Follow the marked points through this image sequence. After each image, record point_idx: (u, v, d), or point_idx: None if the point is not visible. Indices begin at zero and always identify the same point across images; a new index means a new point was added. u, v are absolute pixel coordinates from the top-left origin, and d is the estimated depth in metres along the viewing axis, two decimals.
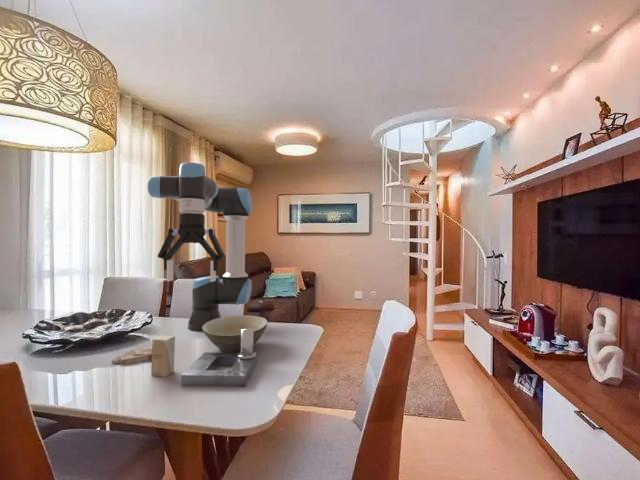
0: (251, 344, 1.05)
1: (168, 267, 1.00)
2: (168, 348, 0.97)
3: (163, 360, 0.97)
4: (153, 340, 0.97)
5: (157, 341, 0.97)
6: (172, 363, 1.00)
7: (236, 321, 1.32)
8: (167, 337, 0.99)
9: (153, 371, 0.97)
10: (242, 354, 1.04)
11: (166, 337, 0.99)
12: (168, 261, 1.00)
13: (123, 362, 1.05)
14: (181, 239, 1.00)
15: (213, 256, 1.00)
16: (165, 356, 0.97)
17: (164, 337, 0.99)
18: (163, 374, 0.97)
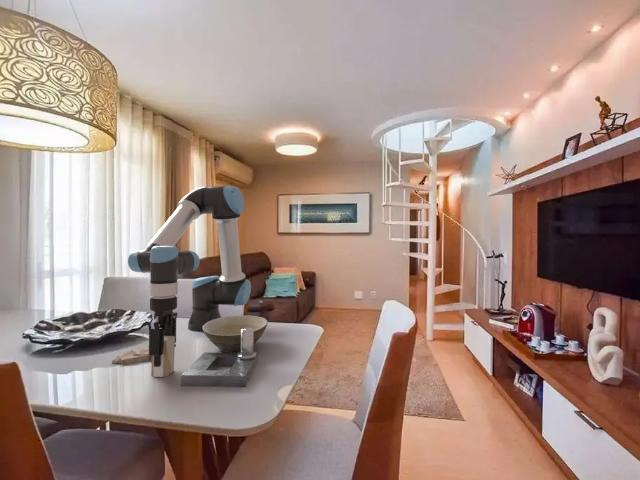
0: (251, 344, 1.05)
1: None
2: (168, 348, 0.97)
3: None
4: None
5: None
6: (172, 363, 1.00)
7: (236, 321, 1.32)
8: (167, 337, 0.99)
9: (153, 371, 0.97)
10: (242, 354, 1.04)
11: (166, 337, 0.99)
12: None
13: (123, 362, 1.06)
14: None
15: None
16: (165, 355, 0.97)
17: (164, 337, 0.99)
18: None
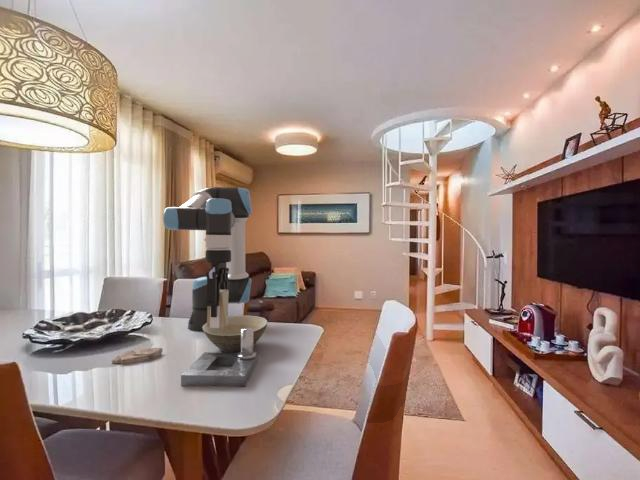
0: (251, 344, 1.05)
1: None
2: (223, 300, 0.98)
3: None
4: None
5: None
6: (226, 316, 1.00)
7: (236, 321, 1.32)
8: (222, 290, 0.99)
9: (209, 323, 0.98)
10: (242, 354, 1.04)
11: (221, 290, 0.99)
12: None
13: (123, 362, 1.06)
14: None
15: None
16: (221, 307, 0.97)
17: None
18: None
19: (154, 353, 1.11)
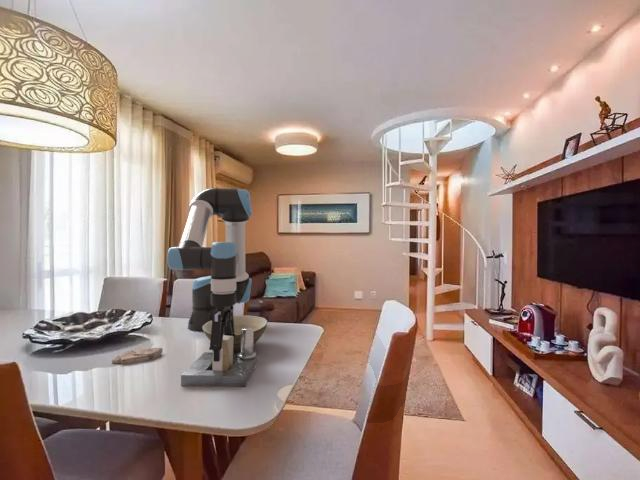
0: (251, 344, 1.05)
1: None
2: (229, 348, 0.98)
3: (225, 359, 0.98)
4: None
5: None
6: (231, 362, 1.01)
7: (236, 321, 1.32)
8: (227, 337, 1.00)
9: None
10: (242, 354, 1.04)
11: (226, 337, 1.00)
12: None
13: (123, 362, 1.06)
14: None
15: None
16: (227, 355, 0.98)
17: (224, 337, 1.00)
18: None
19: (154, 353, 1.11)
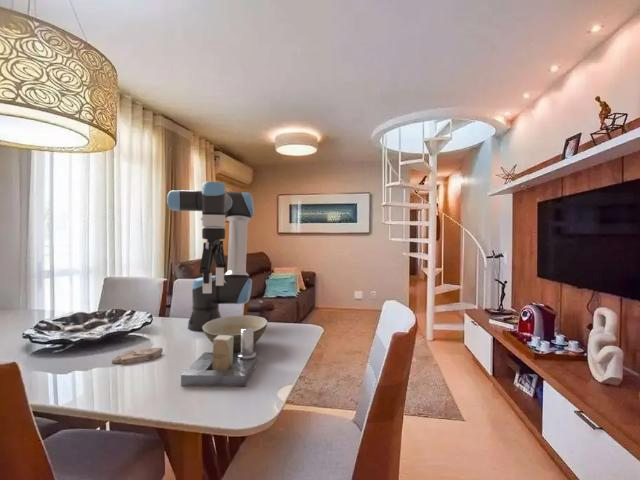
0: (251, 344, 1.05)
1: (216, 273, 1.18)
2: (229, 348, 0.98)
3: (225, 359, 0.98)
4: (214, 340, 0.98)
5: (219, 341, 0.98)
6: (231, 362, 1.01)
7: (236, 321, 1.32)
8: (227, 337, 1.00)
9: None
10: (242, 354, 1.04)
11: (226, 337, 1.00)
12: (216, 268, 1.18)
13: (123, 362, 1.06)
14: None
15: None
16: (227, 355, 0.98)
17: (224, 337, 1.00)
18: None
19: (154, 353, 1.11)
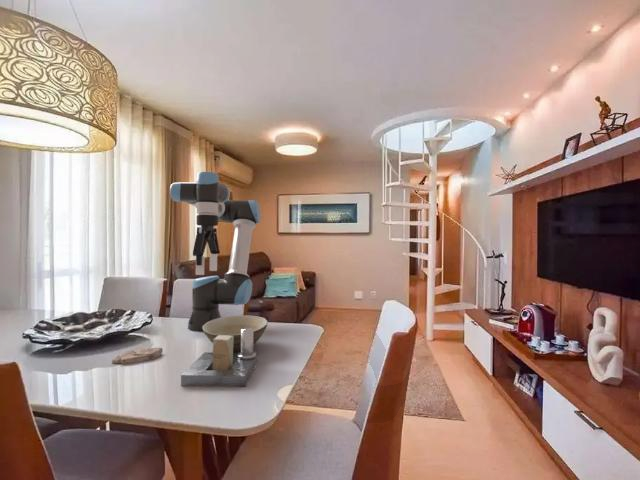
0: (251, 344, 1.05)
1: (210, 259, 1.25)
2: (229, 348, 0.98)
3: (225, 359, 0.98)
4: (214, 340, 0.98)
5: (219, 341, 0.98)
6: (231, 362, 1.01)
7: (236, 321, 1.32)
8: (227, 337, 1.00)
9: None
10: (242, 354, 1.04)
11: (226, 337, 1.00)
12: (210, 254, 1.25)
13: (123, 362, 1.06)
14: None
15: None
16: (227, 355, 0.98)
17: (224, 337, 1.00)
18: None
19: (154, 353, 1.11)
